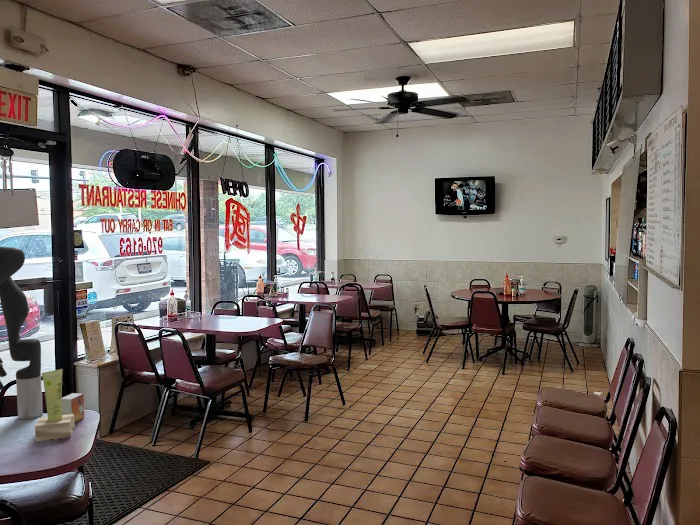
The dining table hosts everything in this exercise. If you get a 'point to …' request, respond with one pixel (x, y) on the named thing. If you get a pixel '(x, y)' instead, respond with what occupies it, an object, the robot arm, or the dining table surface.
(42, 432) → the birch block
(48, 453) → the dining table surface
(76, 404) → the small box
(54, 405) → the tube
